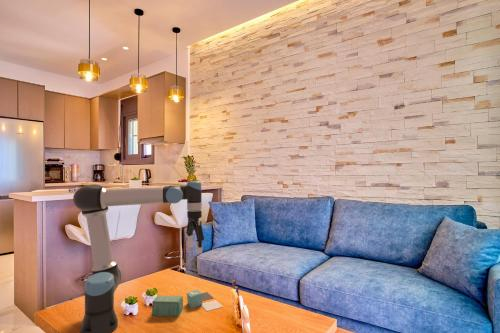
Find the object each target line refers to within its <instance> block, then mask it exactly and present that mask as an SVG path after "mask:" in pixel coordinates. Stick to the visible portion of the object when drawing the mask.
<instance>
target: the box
mask: <svg viewBox="0 0 500 333" xmlns="http://www.w3.org/2000/svg"><path fill="white" fill-rule="evenodd" d="M183 298H184V297H183V296H182V295H161V294H160V295H159V294H158V295H156V296H155V297H154V299H153V300H152V304H151V305H152V306H151V308H152V309H151V310H152V311H151V313H152V314H151V316H153V317H179V316H180V315H181V312H182V311H183V306H184V299H183Z"/></svg>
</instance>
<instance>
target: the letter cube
mask: <svg viewBox="0 0 500 333" xmlns="http://www.w3.org/2000/svg"><path fill="white" fill-rule="evenodd" d="M202 293H203V292H201V291H200V290H199V289H198V288H197V289H194V290H191V291H188V292H186V297H187V298H186V299H187V304H188V305H189V307H190V308H191V309H193V308H197V307H200V306H201V305H202V303H203V301H202Z"/></svg>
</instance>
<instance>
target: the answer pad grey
mask: <svg viewBox="0 0 500 333" xmlns="http://www.w3.org/2000/svg"><path fill="white" fill-rule="evenodd" d="M200 306H201V307H202V308H203V310H205V311H206V312H210V311H213V310H219V309H220V308H224V306H223V305H222V304H221V303H220V302H219V301H218V300H216V299H215V300H211V301H207V302H202V305H200Z"/></svg>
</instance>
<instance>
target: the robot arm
mask: <svg viewBox="0 0 500 333" xmlns="http://www.w3.org/2000/svg"><path fill="white" fill-rule="evenodd" d="M182 200H186V207H187V208H186V210H187V212H186V216H187V225H186V232H185V234H187V235H186V236H187V249H190V248H193V247H194V233H195V237H196V239H195V240H196V241H195V242H196V254H197V255H199V254H203V241H205V236H204V232H203V226H202V225H203V224H202V220H200V219H202V216H203V215H202V214H203V213H202V206H203V203H202V182H201V181H195V180H192V181H187V182H186V184H183V185H172V184H171V185H165V186H164V187H145V188H143V187H141V188H122V189H121V188H120V189H119V188H118V189H117V188H116V189H106V188H105V187H104V186H102V185H99V184H89V185H84V186H82V187H78V189H77V190H76V191H75V192H74V194H73V198H72V201H73V204H74V206H75V207H76V208H77V209H79V210H81V215H82V216H83V217H85V218H86V224H87V230H88V237H89V241H90V242H89V243H90V248H91V254H92V260H93V265H92V266H93V267H91V270H90V271H91V275H90V276H88V277H87V278H86V280H85V283H84V287H83V288H84V316H83V318H82V321H81V324H80V327H79V333H113V332H114V331H115V330H116V329H117V328H118V326H119V320H118V317H117V314H116V311H115V305H114V304H115V302H114V301H115V300H114V299H115V298H114V297H115V296H114V295H115V292H116V290H117V288H118V287H119V285H120V283H121V280H122V271H121V270H120V268H119V264H118V261H116V260H114V256H113V250H112V245H111V244H112V243H111V238H110V233H109V227H108V220H107V212H108V211H109V207H115V206H116V207H119V206H134V205H152V204H178V203H180V201H182Z"/></svg>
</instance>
